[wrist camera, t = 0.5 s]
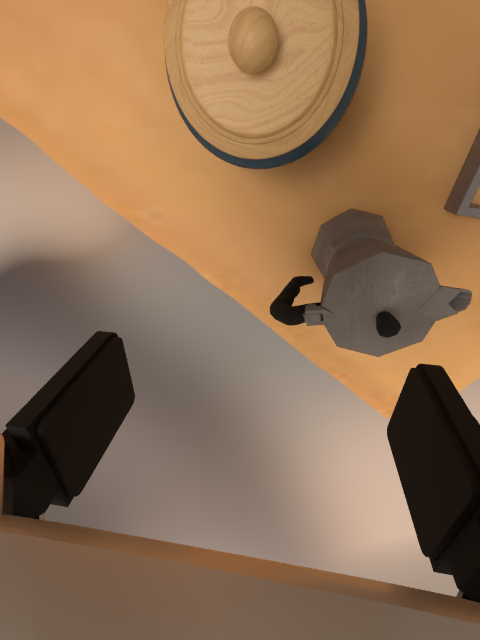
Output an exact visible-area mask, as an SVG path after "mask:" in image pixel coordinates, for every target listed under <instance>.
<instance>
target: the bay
mask: <svg viewBox="0 0 480 640" xmlns="http://www.w3.org/2000/svg"><path fill="white" fill-rule="evenodd" d="M479 185H480V130H479V132H478V134H477V136H476V139H475V141H474V143H473V145H472V147H471V150H470V152H469V154H468V156H467V159H466V161H465V163H464V165H463V167H462V170H461V172H460V174H459V176H458V178H457V181H456V183H455V185H454V187H453V189H452V192H451V194H450V196H449V198H448V200H447V203H446V205H445V207H444V208H445V209H447V210H448V211H450V212H452V213H454V214H456V215H462V216H469V217H476V218H480V205H475V204H471V202H472V200H473V198H474V196H475V194H476V192H477V190H478V188H479Z"/></svg>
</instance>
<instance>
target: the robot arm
mask: <svg viewBox="0 0 480 640" xmlns="http://www.w3.org/2000/svg"><path fill="white" fill-rule="evenodd" d="M134 399H135V393H134V389H133V385H132V380H131V376H130V372H129V367H128V363H127V358H126V354H125V349H124V345H123V341H122V339H121V338H120V337H118V335H117V334H116V333H113V332H103V331H98V332H96V333H95V334H94V335H93V336H92V337H91V338H90V339H89V340H88V341H87V342H86V343H85V344H84V345H83V346H82V347H81V348H80V349H79V350H78V351H77V352H76V353H75V355H73V356H72V357H71V358H70V359H69V361H68V362H67V363H66V364H65V365H64V366H63V367H62V368H61V369H60V370H59V371H58V372H57V373H56V374H55V375H54V376H53V377H52V378H51V379H50V380H49V381H48V382H47V383H46V384H45V385H44V386H43V387H42V388H41V389H40V390H39V391H38V392H37V393H36V394H35V396H34V397H33V398H32V399H31V400H30V401H29V402H28V403H27V404H26V405H25V406H24V407H23V408H22V409H21V410H20V411H19V412H18V413H17V414H16V415H15V416H14V417H13V418H12V419H11V420H10V421H9V422H8V423H7V424H6V427H7V429H6V430H5V431H4V432H3V433H2V434H0V640H480V425H479V423H478V421H477V420H476V419H475V417H473V415H472V414H471V412H470V411H469V409H468V407H467V406H466V404H465V402H464V401H463V399H462V398H461V396H460V394H459V393H458V391H457V389H456V388H455V386H454V384H453V383H452V381H451V380H450V378H449V376H448V375H447V373H446V371H445V370H444V368H443V367H442V366H438V365H428V364H419V365H417V367H416V368H411V369H410V371H409V374H408V376H407V379H406V381H405V384H404V386H403V389H402V391H401V394H400V396H399V399H398V401H397V404H396V406H395V409H394V411H393V414H392V417H391V419H390V422H389V425H388V427H387V436H388V440H389V444H390V447H391V451H392V454H393V457H394V461H395V464H396V467H397V471H398V474H399V477H400V481H401V484H402V487H403V491H404V494H405V498H406V501H407V504H408V508H409V511H410V514H411V518H412V521H413V524H414V528H415V531H416V534H417V538H418V541H419V545H420V547H421V550H422V552H423V554H424V555H425V556H426V557H429V558H430V561H431V564H432V568H433V571H434V572H438V573H443V574H449V575H453V577H454V580H455V583H456V586H457V588H458V589H459V592H458V594H457V596H456V597H454V596H449V595H444V594H439V593H435V592H430V591H425V590H420V589H415V588H410V587H405V586H401V585H396V584H390V583H385V582H381V581H376V580H371V579H365V578H360V577H355V576H349V575H344V574H338V573H333V572H328V571H323V570H318V569H312V568H307V567H302V566H296V565H291V564H286V563H280V562H275V561H270V560H264V559H259V558H253V557H248V556H243V555H237V554H232V553H226V552H221V551H215V550H210V549H204V548H199V547H193V546H188V545H182V544H177V543H171V542H166V541H161V540H154V539H149V538H144V537H138V536H132V535H127V534H121V533H116V532H110V531H104V530H99V529H93V528H87V527H81V526H76V525H71V524H64V523H58V522H52V521H45V511H46V510H47V508H48V507H49V505H50V504H53V505H59V506H64V507H68V506H69V504H70V502H71V501H72V499H73V497H74V496H78V495H79V494H80V493H81V492H82V490H83V488H84V487H85V485H86V483H87V482H88V480H89V478H90V477H91V475H92V473H93V471H94V470H95V468H96V466H97V465H98V463H99V461H100V459H101V458H102V456H103V454H104V453H105V451H106V449H107V447H108V446H109V444H110V442H111V441H112V439H113V437H114V436H115V434H116V432H117V431H118V429H119V427H120V425H121V424H122V422H123V420H124V419H125V417H126V415H127V413H128V412H129V410H130V408H131V407H132V405H133V403H134Z"/></svg>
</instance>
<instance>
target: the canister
mask: <svg viewBox="0 0 480 640" xmlns="http://www.w3.org/2000/svg"><path fill="white" fill-rule="evenodd" d="M366 45H367V10H366V3H365V0H168V4H167V9H166V16H165V27H164V48H165V62H166V70H167V76H168V81H169V85H170V89H171V92H172V95H173V98H174V101H175V104H176V106H177V108H178V111H179V113H180V115H181V117H182V119H183V120H184V122H185V124H186V125H187V127H188V128H189V130H190V131H191V133H192V134H193V135H194V136H195V138H196V139H197V140H198V141H199V142H200V143H201V144H202V145H203V146H204V147H205V148H206V149H207V150H208V151H210V152H211V153H212V154H214V155H215V156H217V157H218V158H220V159H222V160H224V161H226V162H228V163H230V164H233V165H236V166H239V167H243V168H249V169H270V168H276V167H280V166H283V165H286V164H289V163H292V162H294V161H296V160H298V159H300V158H302V157H303V156H305V155H306V154H308V153H309V152H311V151H312V150H313V149H315V148H316V147H317V146H318V145H319V144H320V143H322V142H323V141H324V140H325V139H326V138H327V136H328V135H329V134H330V133H331V132H332V131H333V129H334V128H335V127H336V126H337V124H338V123H339V121H340V120H341V118H342V117H343V115H344V113H345V112H346V110H347V108H348V106H349V104H350V102H351V100H352V98H353V96H354V93H355V91H356V88H357V86H358V82H359V79H360V76H361V72H362V68H363V64H364V59H365V53H366Z"/></svg>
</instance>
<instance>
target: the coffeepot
mask: <svg viewBox="0 0 480 640" xmlns="http://www.w3.org/2000/svg"><path fill="white" fill-rule="evenodd" d="M311 255H312V257H313V259H314V260H315V262H316V264H317V266H318V268H319V269H320V271H321V273H322V275H323V277H324V278H325V280H324V285H323V291H322V297H321V302H320V303H311V304H305V305H300V306H292V304H293V302H294V298H295V297H296V296H297V295H298V294H299V292H300V287H301V286H304V285H307V284H311V283H313V282H314V280H313V278H312V277H311V276H298V277H294V278H293V279H292V280H291V281H290V282H289V283H288V285H287V286H286V287H285V288H284V289H283V291H282V292H281V293H280V295H279V296H278V297H277V298H276V299H275V300H274V301H273V303H272V304H271V306H270V314H271V315H272V316H273V317H274V318H275V319H276V320H278V321H280V322H282V323H284V324H286V325H298V324H301V323H305V322H306V323H307V326H312V325H325V327H326V328H327V330H328V332H329V334H330V335H331V337H332V339H333V340H334V342H335V344H336V345H337V347H341V348H345V349H349V350H353V351H357V352H361V353H365V354H369V355H373V356H376V357H379V356H382V355H385V354H388V353H390V352H393V351H396V350H399V349H402V348H404V347H407V346H410V345H413V344H416V343H418V342H421V341H423V339H424V338H425V336H426V335H427V333H428V332H429V330H430V329H431V327H432V326H433V324H434V322H435V321H438V320H441V319H443V318H446V317H449V316H452V315H454V314H457V313H458V312H460V311H463V310H465V309H466V308H467V307H468V305H469V304H470V301H471V297H472V292H471V291H469V290H466V289H460V288H453V287H446V286H440V284H439V282H438V279H437V277H436V274H435V272H434V269H433V267H432V264H431V263H429V262H427V261H425V260H423V259H421V258H419V257H417V256H415V255H413V254H411V253H409V252H407V251H405V250H403V249H401V248H400V247H398V246H395V245H394V243H393V241H392V238H391V236H390V234H389V231H388V229H387V227H386V225H385V222H384V220H383V218H382V216H378V215H374V214H371V213H367V212H362V211H358V210H354V209H349V210H348V211H346V212H344V213H342V214H340V215H338V216H336V217H334V218H333V219H331V220H330V221H328V222H327V223H325V224H323V225H321V227H320V230H319V233H318V236H317V238H316V241H315V245H314V248H313V250H312V253H311Z"/></svg>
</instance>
